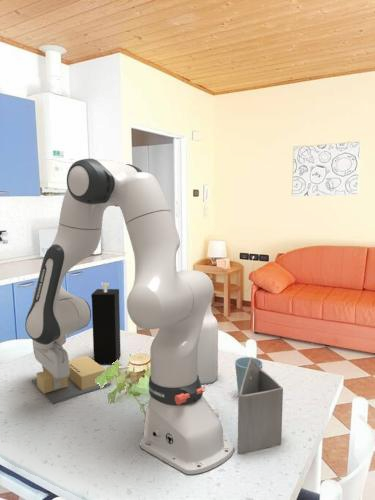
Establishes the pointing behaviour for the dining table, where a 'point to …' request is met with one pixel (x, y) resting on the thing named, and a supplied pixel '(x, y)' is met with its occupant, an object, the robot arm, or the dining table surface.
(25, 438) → the dining table surface
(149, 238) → the robot arm
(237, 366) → the cup
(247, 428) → the planter
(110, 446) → the dining table surface
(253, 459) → the dining table surface
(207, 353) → the alcohol
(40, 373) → the small cardboard box
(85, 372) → the tan block on base
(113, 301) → the black square bottle
